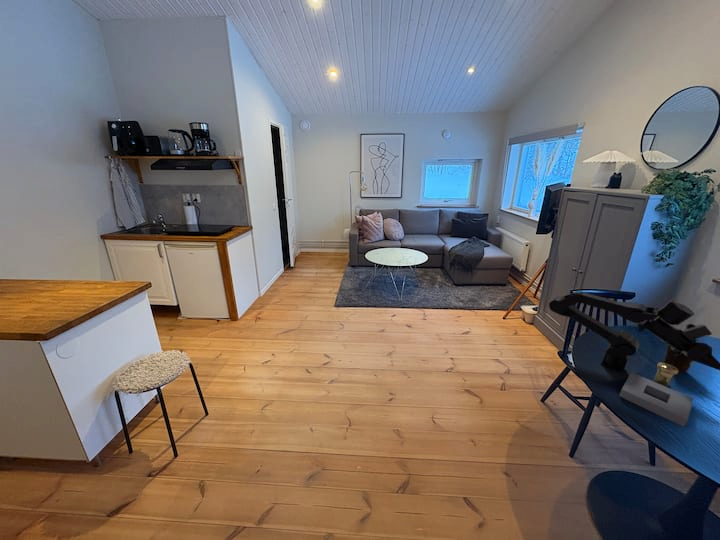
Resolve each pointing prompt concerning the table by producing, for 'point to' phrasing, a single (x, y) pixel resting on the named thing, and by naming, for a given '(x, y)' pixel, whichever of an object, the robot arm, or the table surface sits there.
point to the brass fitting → (665, 373)
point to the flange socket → (672, 410)
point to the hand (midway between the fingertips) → (718, 367)
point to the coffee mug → (677, 360)
